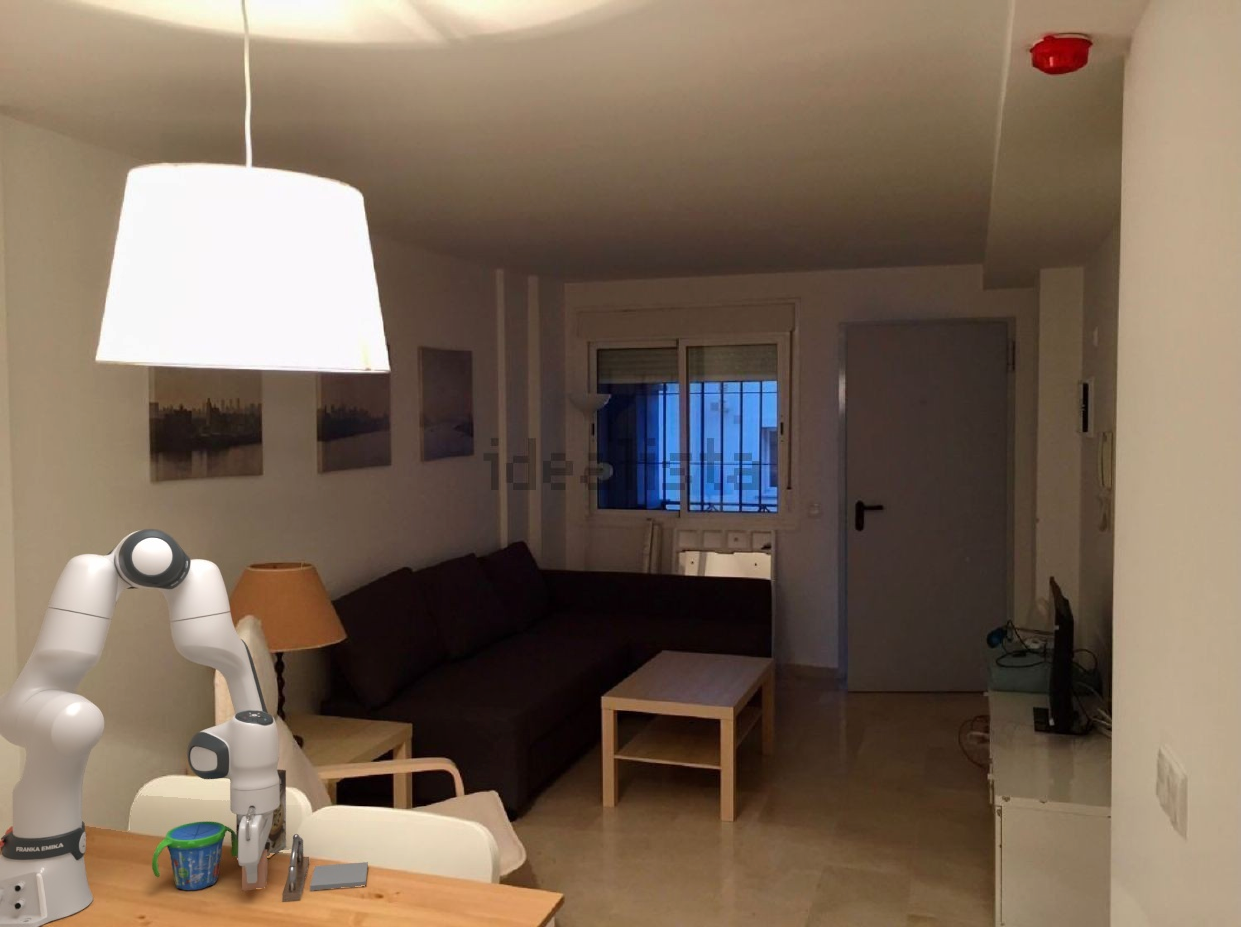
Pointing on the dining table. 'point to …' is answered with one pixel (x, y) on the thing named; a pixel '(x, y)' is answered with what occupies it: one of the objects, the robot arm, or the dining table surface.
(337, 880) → the mat
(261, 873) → the block
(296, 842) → the metal door handle
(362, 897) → the dining table surface
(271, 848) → the coffee box
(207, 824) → the snack cup
